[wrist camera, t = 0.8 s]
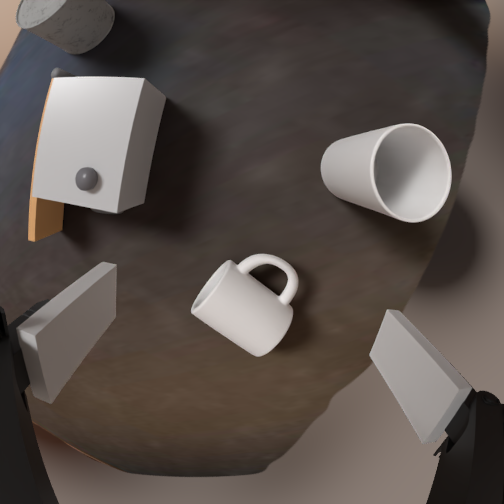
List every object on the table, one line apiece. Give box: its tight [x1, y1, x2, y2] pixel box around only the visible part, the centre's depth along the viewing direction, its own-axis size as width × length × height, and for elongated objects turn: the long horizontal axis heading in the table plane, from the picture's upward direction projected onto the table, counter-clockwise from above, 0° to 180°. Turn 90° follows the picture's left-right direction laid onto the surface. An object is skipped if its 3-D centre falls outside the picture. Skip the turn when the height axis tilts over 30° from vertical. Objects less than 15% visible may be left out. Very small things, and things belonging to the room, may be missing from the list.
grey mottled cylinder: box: [16, 0, 115, 54], centre depth 23 cm, size 10×10×12 cm
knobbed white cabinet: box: [32, 77, 166, 214], centre depth 30 cm, size 15×12×10 cm
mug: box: [191, 254, 298, 356], centre depth 37 cm, size 12×10×8 cm
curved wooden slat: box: [28, 68, 77, 242], centre depth 31 cm, size 22×2×7 cm, turn 167°
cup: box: [321, 124, 451, 222], centre depth 29 cm, size 8×8×16 cm
